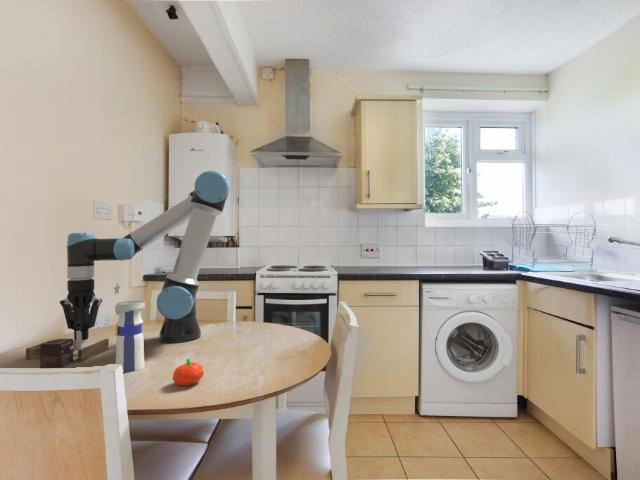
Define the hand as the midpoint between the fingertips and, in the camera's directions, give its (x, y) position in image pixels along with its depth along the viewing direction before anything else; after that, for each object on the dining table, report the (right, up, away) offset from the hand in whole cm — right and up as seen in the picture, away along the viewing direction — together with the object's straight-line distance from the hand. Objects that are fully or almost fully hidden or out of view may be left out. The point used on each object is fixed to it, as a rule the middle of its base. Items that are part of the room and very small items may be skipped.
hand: (81, 349), depth 119 cm
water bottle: (+24, -1, -14) cm, 27 cm away
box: (0, -2, -11) cm, 11 cm away
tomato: (+45, -1, -26) cm, 53 cm away
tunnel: (-4, -2, -1) cm, 5 cm away
